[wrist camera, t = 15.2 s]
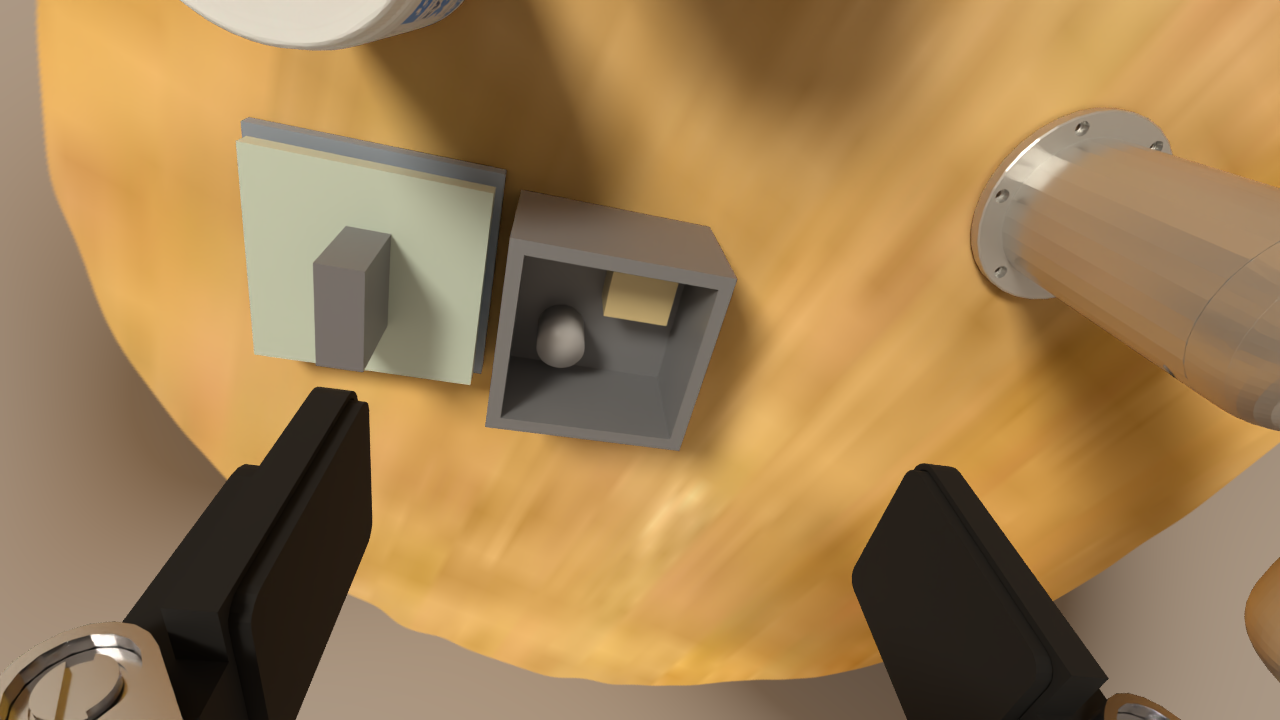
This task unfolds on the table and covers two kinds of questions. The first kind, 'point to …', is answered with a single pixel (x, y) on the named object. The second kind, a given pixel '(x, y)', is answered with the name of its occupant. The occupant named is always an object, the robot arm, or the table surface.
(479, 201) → the lid
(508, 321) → the parts tub
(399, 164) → the mat
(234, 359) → the table surface
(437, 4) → the supplement tub
